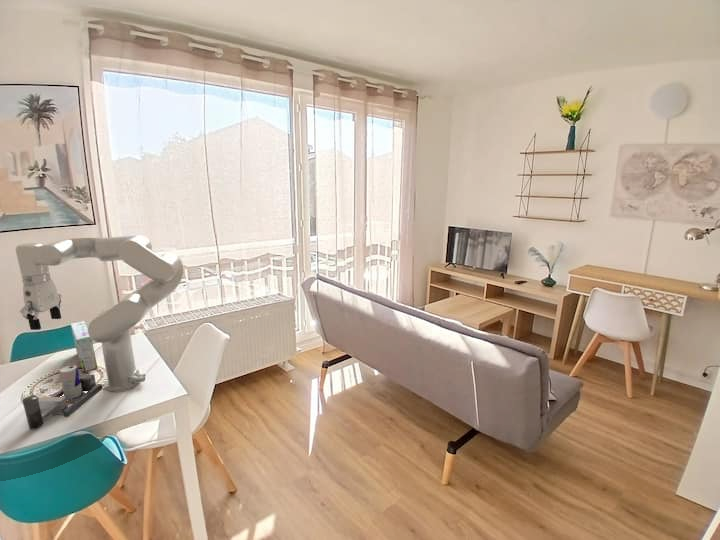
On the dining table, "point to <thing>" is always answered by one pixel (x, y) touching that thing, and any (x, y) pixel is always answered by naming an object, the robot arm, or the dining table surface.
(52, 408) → the ram
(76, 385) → the energy drink
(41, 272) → the robot arm
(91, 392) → the press
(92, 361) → the snack box
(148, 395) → the dining table surface
